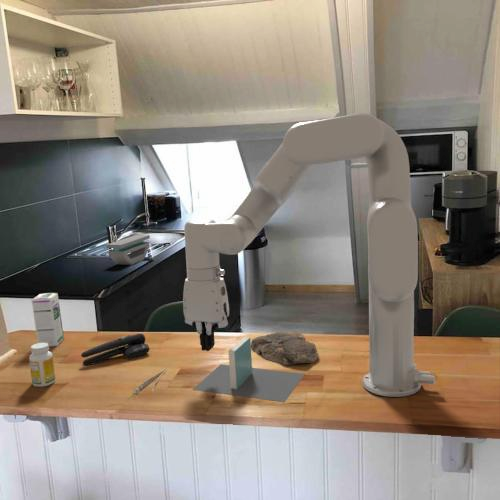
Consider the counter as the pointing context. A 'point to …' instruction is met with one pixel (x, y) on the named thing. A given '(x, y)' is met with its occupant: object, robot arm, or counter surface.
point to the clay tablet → (285, 348)
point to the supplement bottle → (41, 365)
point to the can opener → (118, 349)
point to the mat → (252, 383)
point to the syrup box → (48, 319)
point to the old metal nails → (148, 383)
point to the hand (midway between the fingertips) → (207, 348)
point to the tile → (240, 362)
